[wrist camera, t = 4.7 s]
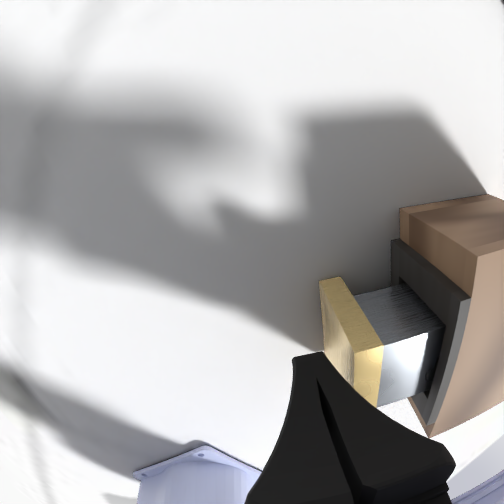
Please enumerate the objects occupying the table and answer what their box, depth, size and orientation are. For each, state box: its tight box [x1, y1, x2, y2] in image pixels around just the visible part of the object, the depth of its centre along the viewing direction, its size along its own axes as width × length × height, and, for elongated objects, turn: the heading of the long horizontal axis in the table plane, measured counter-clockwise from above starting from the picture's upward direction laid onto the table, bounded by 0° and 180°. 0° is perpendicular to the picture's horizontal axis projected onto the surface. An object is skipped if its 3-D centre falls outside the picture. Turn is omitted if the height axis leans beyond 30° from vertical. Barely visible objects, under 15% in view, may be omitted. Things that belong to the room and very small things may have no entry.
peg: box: [319, 277, 446, 408], centre depth 12 cm, size 8×5×5 cm, turn 100°
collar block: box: [391, 194, 504, 438], centre depth 12 cm, size 6×10×6 cm, turn 10°
